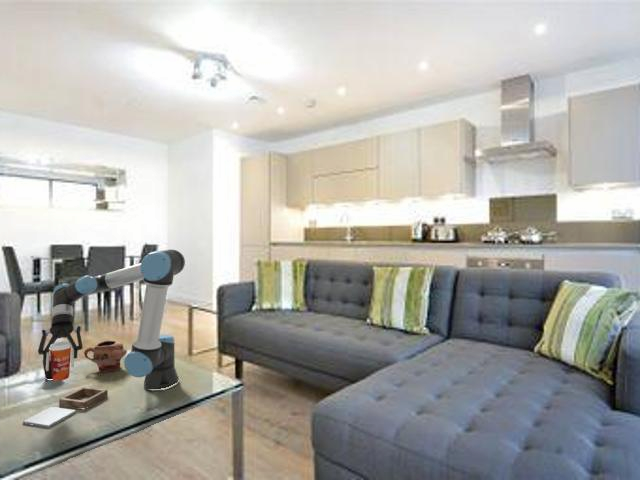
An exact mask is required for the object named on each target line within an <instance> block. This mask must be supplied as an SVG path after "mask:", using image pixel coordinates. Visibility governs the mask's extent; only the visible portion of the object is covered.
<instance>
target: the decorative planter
mask: <svg viewBox="0 0 640 480" xmlns="http://www.w3.org/2000/svg"><path fill="white" fill-rule="evenodd" d="M89 352H92V353H93V356H92V357H93V358H92V357H89V355H88V353H89ZM127 353H128V350H127V349H125V348H124V345H123V343H122V342H120V341H117V340H104V341H101V342H99V343H96V344H95V346H93V347H92V346H91V347H88V348H86V349H85V350H84V352H83V355H84V357H85V358H86V359H87V360H89V361H91V362H93V363H95V364H96V365H97V367H98V371H99V372H101V373H102V372H103V373H104V372H105V373H107V372H113V371H116V370H118V369H120V368H121V359H122V358H123V357H125V355H126V356H127Z"/></svg>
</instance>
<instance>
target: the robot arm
mask: <svg viewBox="0 0 640 480" xmlns="http://www.w3.org/2000/svg"><path fill="white" fill-rule="evenodd" d="M185 265H186V259H185V256H184V255H183V253H181V252H180V251H178V250H176V249H166V250H155V251H152V252H149V253H147V254H146V255H145V256H144V257H143V258H142V260H141V262H140V263H137V264H134V265H131V266H130V265H129V266H128V267H127V266H126V267H124V268H121V269H117V270H114V271H111V272H107V273H104V274H103V273H102V274H100V275H96V276H91V275H84V276H82V277H80V278H78V279H77V280H75V281H73V282H72V283H70V284H69V283H62V284H58V285H56V286H55V287H54V289H53V294H52V311H51V312H52V313H51V324H50V325H51V326H50V328H49V329H47V330H45V329H42V330H41V334H42V336H41V339H40V343H39V345H38V350H37V353H38V355H42V359H43V361H42V363H43V362H44V363H45V362H46V371H49V358H50V350H49V348H50V345H51V344H53V343H56V341H57V339H58V340H59V339H62V338H63V339H67V340H68V341H67V342H70V343H71V345H72V347H71V356H70V366H71V368H74V367H75V359H78V352H79V351H80V350H83V348H84V347H83V341H82V336H81V331H82V327H81V326H79V325H78V326H76V327H75V326H74V325H73V321H74V317H73V316H74V303H76V302H77V301H79V300H80V299H82V298H83V297H87V296H89V295H93V294H96V293H100V292H106V291H109V290H111V289H114V288H118V287H121V286H125V285H129V284H133V283H136V282H139V281H143V283H144V284H145V285H146V286H145V291H144V298H143V303H142V307H141V308H142V309H141V315H140V320H139V321H140V322H139V326H138V333H137V338H136V339H135V340H133V342H132V343H131V350H130V352H129V353H128V354H126V356H124V360H123V366H124V369H125V371H126V372H127V373H128V374H129V375H131V376H132V377H134V378H143V377H145V378H144V381H143V388H144V390H146V389H161V388H166V387H169V386H171V385H173V384H175V383H177V382H178V380H179V376H178V372H177V369H176V367H175V337H174V336H173V335H170V334H169V335H168V334H160V333H161V329H162V323H163V318H164V311H165V305H166V299H167V295H168V288H169V287H171V286H172V285H173V281H174V277H175V276H176V275H179V274H180V273H181V272H182V271H183V269H184V268H185ZM72 332H74V333H75V334H76V339H77V343H78V345H77V344H76V342H75V340H74V339H73V337H72V335H71V333H72ZM50 334H51V337H50V339H49V341H48V343H47V345H46V341H47V337H48V336H49V335H50ZM45 345H46V347H45Z"/></svg>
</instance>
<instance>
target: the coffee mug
mask: <svg viewBox="0 0 640 480" xmlns="http://www.w3.org/2000/svg"><path fill="white" fill-rule="evenodd" d="M41 359H42V360H41V361H42V365H43V373H44V378H45V379H46V378H47V379H53V378H52V369H51V357H50V358H49V371H46V362H45V363H44V362H43V358H41Z"/></svg>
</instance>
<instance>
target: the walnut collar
mask: <svg viewBox="0 0 640 480" xmlns="http://www.w3.org/2000/svg"><path fill="white" fill-rule="evenodd" d="M83 396H90V397H89V398H87V399H85V400H80V398H81V397H83ZM78 398H79V399H78ZM105 398H108V389H104V388H95V387H89V386H88V387H87V386H82V387H81V388H79V389H76V390H75V391H73V392H70V393H69V394H66V395H64V396H62V397H60V398H59V399H58V403H59V404H58V405H59V407H61V408H68V409H75V410H78V409H77V408H87V407H88V408H90V407H92V406H93V405H95V404H97V403H99V402H100V401H103V400H104V399H105ZM88 408H87V409H88Z"/></svg>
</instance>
